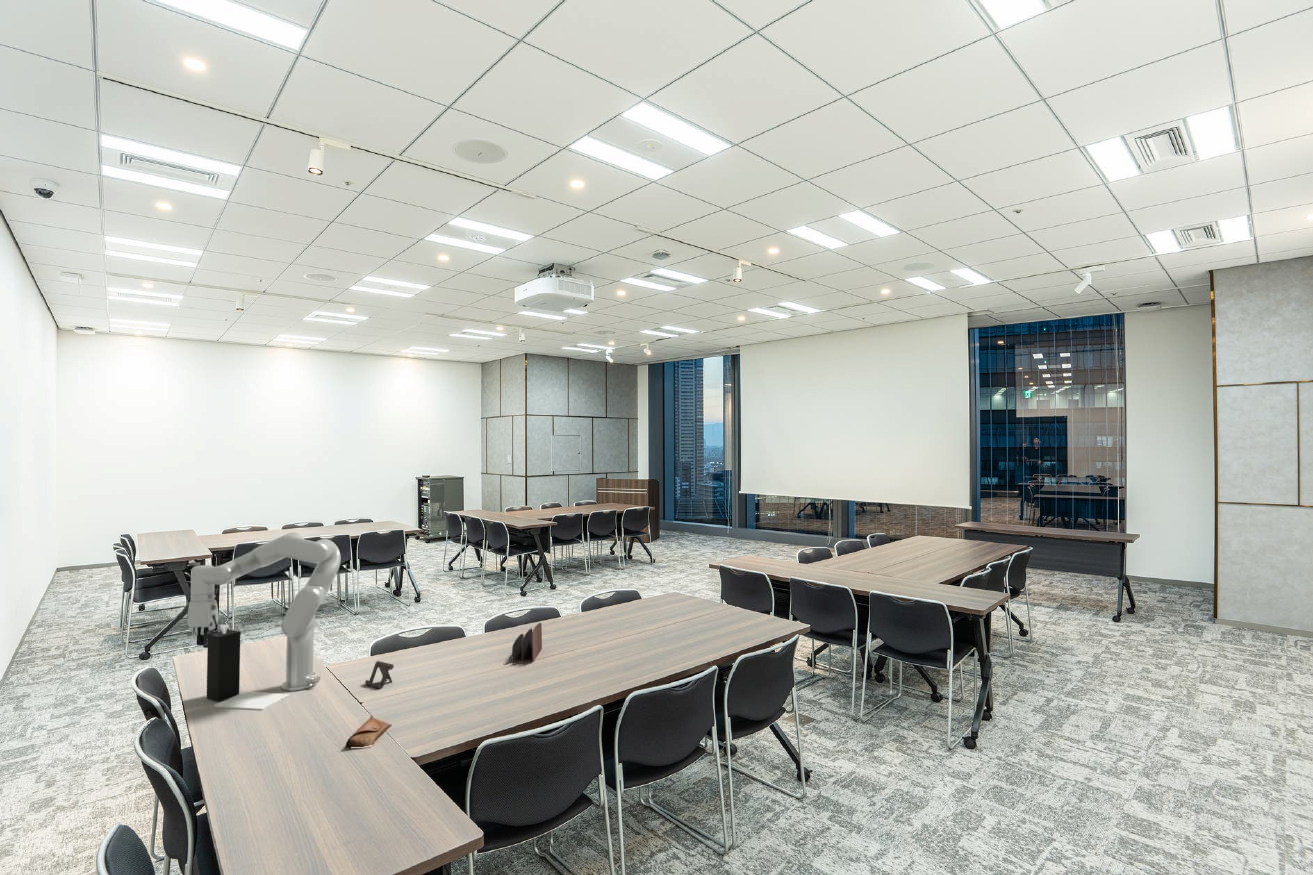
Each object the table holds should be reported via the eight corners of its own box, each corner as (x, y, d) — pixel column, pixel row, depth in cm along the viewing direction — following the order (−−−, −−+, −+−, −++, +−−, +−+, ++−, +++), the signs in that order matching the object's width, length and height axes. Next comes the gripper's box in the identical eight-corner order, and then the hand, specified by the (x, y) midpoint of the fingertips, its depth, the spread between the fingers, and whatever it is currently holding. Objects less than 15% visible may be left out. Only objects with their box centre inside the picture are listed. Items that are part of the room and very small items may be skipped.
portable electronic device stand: (364, 685, 251) (365, 665, 251) (381, 679, 258) (381, 659, 258) (379, 689, 247) (379, 668, 247) (395, 683, 254) (396, 662, 254)
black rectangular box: (239, 694, 241) (241, 623, 242) (218, 702, 234) (219, 628, 235) (227, 691, 244) (228, 620, 245) (205, 698, 237) (207, 625, 238)
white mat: (290, 695, 241) (290, 694, 241) (262, 710, 227) (262, 708, 227) (244, 692, 243) (244, 691, 243) (214, 706, 230) (214, 705, 230)
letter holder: (542, 649, 298) (542, 620, 299) (533, 663, 279) (533, 631, 279) (521, 649, 299) (522, 620, 299) (511, 663, 279) (511, 631, 279)
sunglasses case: (372, 748, 197) (362, 730, 197) (353, 759, 197) (342, 742, 197) (393, 723, 215) (383, 707, 215) (375, 734, 215) (365, 718, 215)
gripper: (227, 595, 244) (226, 642, 244) (194, 594, 247) (193, 640, 246) (211, 600, 237) (210, 647, 236) (177, 598, 239) (176, 646, 239)
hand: (202, 644), depth 241 cm, fingers closed
